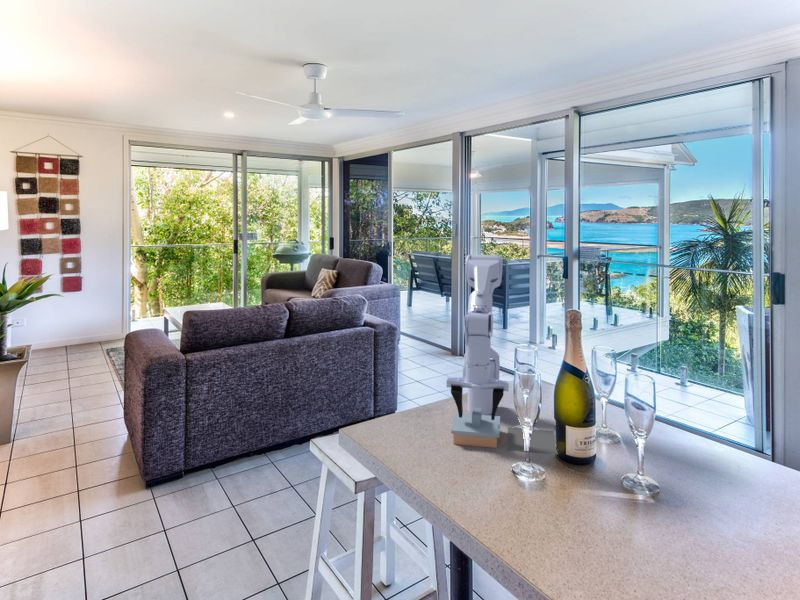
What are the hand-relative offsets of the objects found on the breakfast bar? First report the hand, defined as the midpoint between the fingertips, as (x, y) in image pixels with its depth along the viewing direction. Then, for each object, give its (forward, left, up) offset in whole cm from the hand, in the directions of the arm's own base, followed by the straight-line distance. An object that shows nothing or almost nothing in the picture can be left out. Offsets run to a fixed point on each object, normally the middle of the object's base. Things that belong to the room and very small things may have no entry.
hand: (476, 417), depth 119 cm
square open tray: (0, 0, -6) cm, 6 cm away
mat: (-1, +13, -6) cm, 14 cm away
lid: (0, 0, -2) cm, 2 cm away
